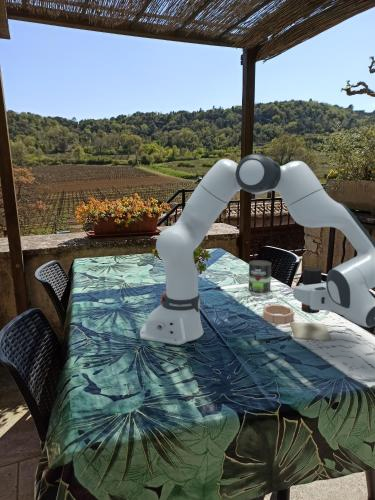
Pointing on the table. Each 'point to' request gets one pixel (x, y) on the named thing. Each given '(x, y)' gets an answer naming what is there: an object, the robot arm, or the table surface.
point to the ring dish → (278, 318)
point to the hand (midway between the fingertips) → (310, 284)
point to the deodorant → (311, 277)
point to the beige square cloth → (310, 331)
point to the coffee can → (259, 277)
